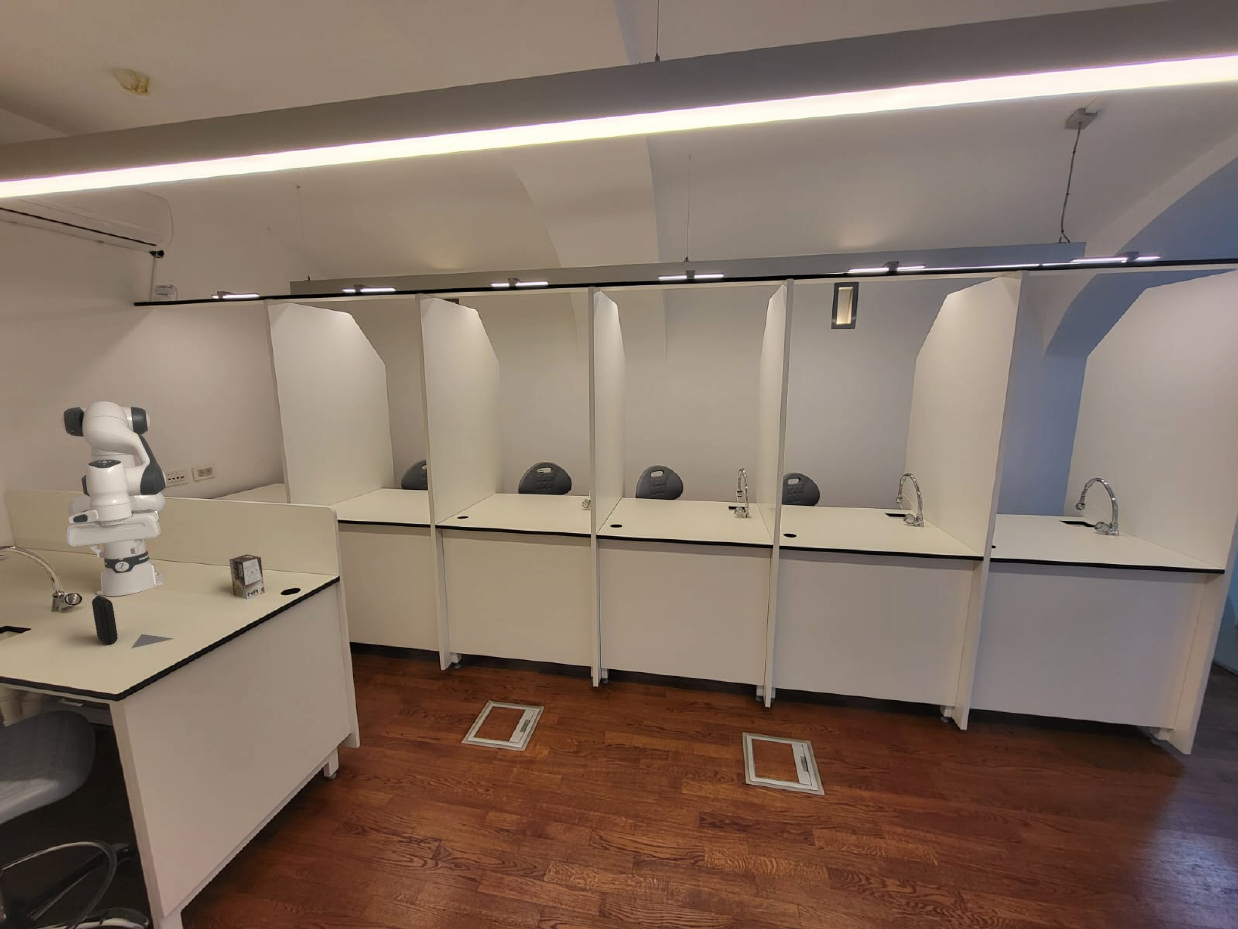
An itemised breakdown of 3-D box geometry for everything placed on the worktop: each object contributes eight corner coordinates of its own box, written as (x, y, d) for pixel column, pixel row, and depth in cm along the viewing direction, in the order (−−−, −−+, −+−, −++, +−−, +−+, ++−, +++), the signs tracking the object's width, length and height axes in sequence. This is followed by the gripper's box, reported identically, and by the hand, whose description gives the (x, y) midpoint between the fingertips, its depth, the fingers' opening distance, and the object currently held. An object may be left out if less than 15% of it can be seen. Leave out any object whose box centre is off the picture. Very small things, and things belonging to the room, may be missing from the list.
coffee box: (266, 597, 181) (261, 557, 179) (247, 604, 176) (242, 562, 173) (252, 593, 185) (247, 553, 183) (233, 599, 179) (228, 558, 177)
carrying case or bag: (95, 639, 150) (88, 595, 148) (108, 635, 152) (102, 592, 150) (106, 648, 144) (99, 602, 142) (120, 644, 147) (113, 599, 145)
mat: (153, 620, 162) (153, 618, 162) (234, 605, 174) (234, 604, 174) (132, 649, 144) (131, 647, 144) (224, 630, 156) (224, 628, 155)
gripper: (160, 506, 154) (166, 547, 156) (69, 514, 143) (76, 558, 145) (155, 510, 149) (160, 552, 151) (59, 519, 138) (67, 564, 140)
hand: (118, 555), depth 148 cm, fingers open, 6 cm apart
